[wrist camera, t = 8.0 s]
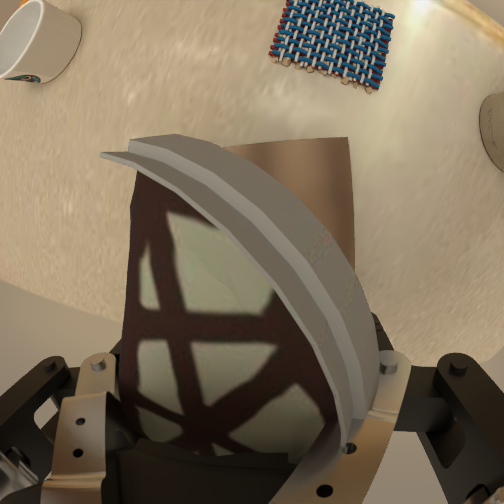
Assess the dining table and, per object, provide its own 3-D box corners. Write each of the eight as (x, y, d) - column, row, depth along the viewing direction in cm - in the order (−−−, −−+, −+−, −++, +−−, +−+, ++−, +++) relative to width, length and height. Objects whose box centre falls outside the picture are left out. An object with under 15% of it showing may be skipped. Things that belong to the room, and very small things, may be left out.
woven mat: (292, -12, 19) (292, -22, 17) (391, 19, 19) (397, 11, 17) (265, 63, 22) (263, 56, 20) (374, 98, 22) (380, 93, 20)
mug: (95, 10, 21) (57, -12, 13) (67, 84, 24) (21, 73, 16) (35, 26, 21) (0, 15, 13) (13, 89, 24) (-26, 85, 17)
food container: (317, 405, 15) (267, 552, 6) (223, 369, 17) (124, 487, 7) (401, 199, 11) (529, 233, 2) (273, 161, 13) (105, 119, 4)
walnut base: (340, 140, 23) (347, 137, 20) (347, 305, 28) (352, 320, 25) (187, 156, 25) (176, 155, 22) (212, 313, 30) (204, 327, 27)
